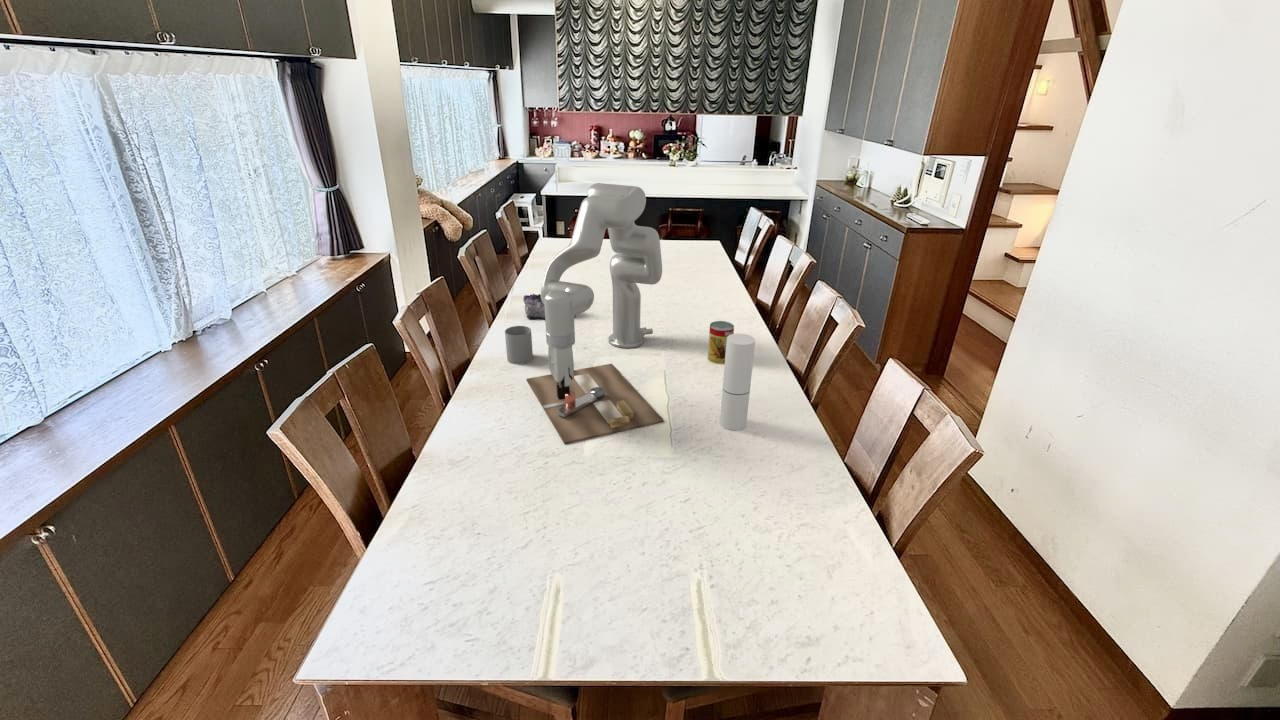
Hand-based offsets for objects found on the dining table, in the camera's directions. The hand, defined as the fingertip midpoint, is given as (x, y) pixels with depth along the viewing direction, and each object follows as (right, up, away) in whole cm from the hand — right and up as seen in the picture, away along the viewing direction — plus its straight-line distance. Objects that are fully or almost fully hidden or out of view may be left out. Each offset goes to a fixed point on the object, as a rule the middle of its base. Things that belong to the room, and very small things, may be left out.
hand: (563, 397), depth 167 cm
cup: (-18, +11, +30) cm, 37 cm away
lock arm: (+5, -2, +2) cm, 6 cm away
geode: (-14, +28, +66) cm, 73 cm away
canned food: (+48, +11, +33) cm, 59 cm away
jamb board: (+7, -1, +6) cm, 9 cm away
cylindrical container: (+46, -7, -4) cm, 47 cm away
